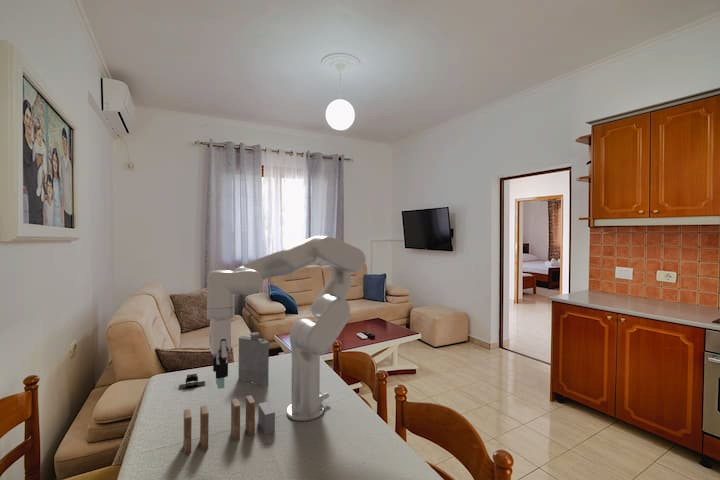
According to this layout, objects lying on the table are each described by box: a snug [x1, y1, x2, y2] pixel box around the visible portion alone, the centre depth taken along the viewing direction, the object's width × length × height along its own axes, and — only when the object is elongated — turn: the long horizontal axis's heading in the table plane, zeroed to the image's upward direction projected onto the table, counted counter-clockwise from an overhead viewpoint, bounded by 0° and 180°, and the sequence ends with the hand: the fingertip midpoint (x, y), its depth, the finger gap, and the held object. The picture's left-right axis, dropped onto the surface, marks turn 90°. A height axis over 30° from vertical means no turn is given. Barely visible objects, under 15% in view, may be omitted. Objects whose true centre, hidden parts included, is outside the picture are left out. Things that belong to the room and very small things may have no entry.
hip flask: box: [238, 331, 270, 388], centre depth 141 cm, size 16×4×20 cm, turn 60°
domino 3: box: [215, 351, 225, 390], centre depth 100 cm, size 2×5×10 cm, turn 30°
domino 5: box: [245, 394, 256, 437], centre depth 104 cm, size 2×5×10 cm, turn 31°
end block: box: [257, 401, 276, 435], centre depth 107 cm, size 3×8×6 cm, turn 31°
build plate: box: [178, 373, 206, 391], centre depth 136 cm, size 12×7×5 cm, turn 114°
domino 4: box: [230, 398, 241, 441], centre depth 102 cm, size 2×5×10 cm, turn 31°
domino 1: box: [183, 408, 193, 455], centre depth 95 cm, size 2×5×10 cm, turn 31°
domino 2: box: [199, 404, 210, 451], centre depth 97 cm, size 2×5×10 cm, turn 31°
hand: (220, 373), depth 100 cm, fingers closed on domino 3, 4 cm apart
